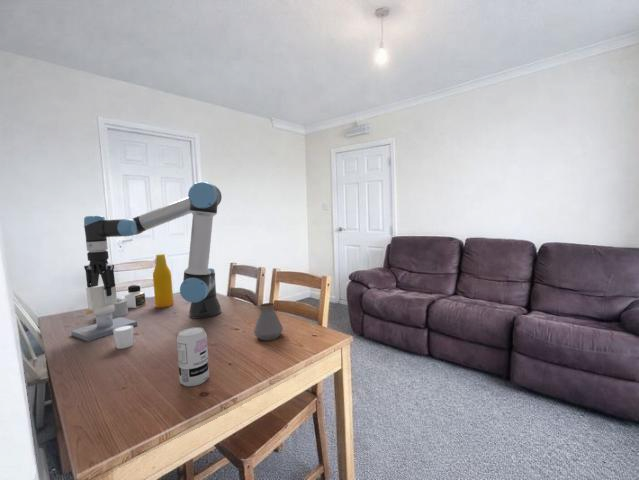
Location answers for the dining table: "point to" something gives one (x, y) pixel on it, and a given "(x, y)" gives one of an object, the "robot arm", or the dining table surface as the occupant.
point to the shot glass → (123, 336)
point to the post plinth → (101, 331)
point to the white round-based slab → (100, 300)
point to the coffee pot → (267, 321)
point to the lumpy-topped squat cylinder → (120, 308)
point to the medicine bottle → (135, 297)
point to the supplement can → (192, 356)
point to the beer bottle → (162, 283)
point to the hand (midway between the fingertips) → (102, 302)
